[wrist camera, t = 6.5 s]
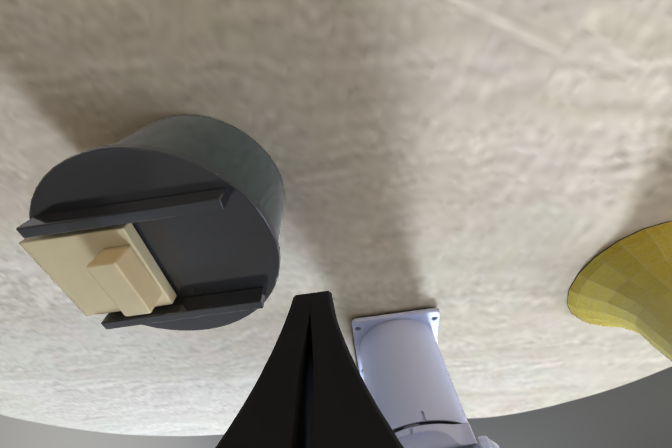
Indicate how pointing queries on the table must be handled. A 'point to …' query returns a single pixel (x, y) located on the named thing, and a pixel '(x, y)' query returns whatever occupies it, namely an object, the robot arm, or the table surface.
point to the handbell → (630, 287)
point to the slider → (103, 269)
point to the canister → (178, 214)
